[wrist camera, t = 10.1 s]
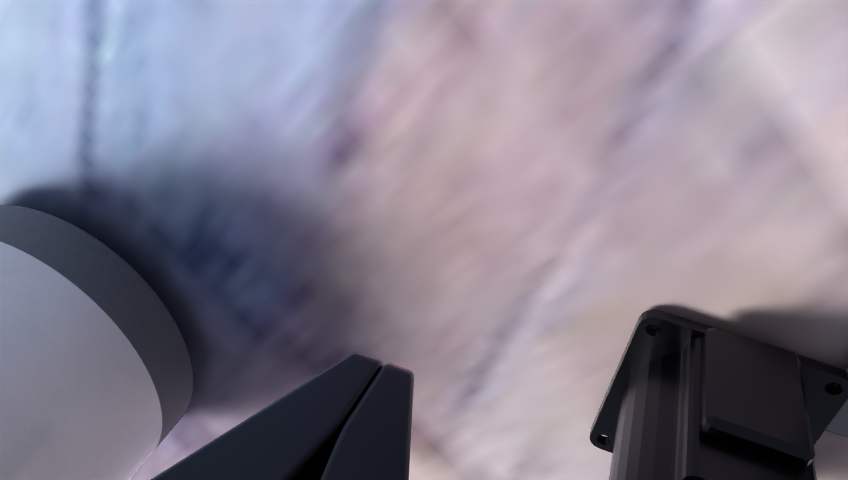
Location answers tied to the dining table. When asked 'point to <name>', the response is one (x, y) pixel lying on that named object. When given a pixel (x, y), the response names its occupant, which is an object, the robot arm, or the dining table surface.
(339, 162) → the dining table surface
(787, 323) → the dining table surface
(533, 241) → the dining table surface
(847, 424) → the charcoal mat
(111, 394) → the planter
